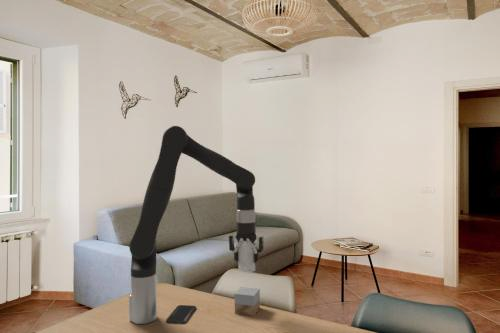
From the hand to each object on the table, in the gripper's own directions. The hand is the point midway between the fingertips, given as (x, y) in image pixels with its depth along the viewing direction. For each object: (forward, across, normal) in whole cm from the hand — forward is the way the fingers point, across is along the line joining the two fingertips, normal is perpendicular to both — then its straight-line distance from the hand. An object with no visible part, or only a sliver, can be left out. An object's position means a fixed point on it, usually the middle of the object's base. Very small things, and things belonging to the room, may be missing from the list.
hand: (246, 261), depth 145 cm
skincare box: (+4, 0, 0) cm, 4 cm away
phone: (+20, -24, -10) cm, 33 cm away
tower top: (+16, 0, 0) cm, 16 cm away
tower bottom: (+20, 0, 0) cm, 20 cm away
